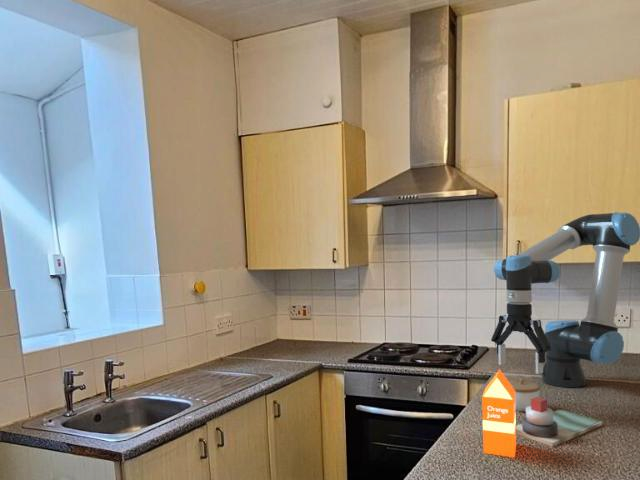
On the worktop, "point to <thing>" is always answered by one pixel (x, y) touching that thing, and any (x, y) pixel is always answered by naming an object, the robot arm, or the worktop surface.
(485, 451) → the orange juice
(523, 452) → the worktop surface
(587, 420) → the game board
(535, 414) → the dome
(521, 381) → the lidded jar
